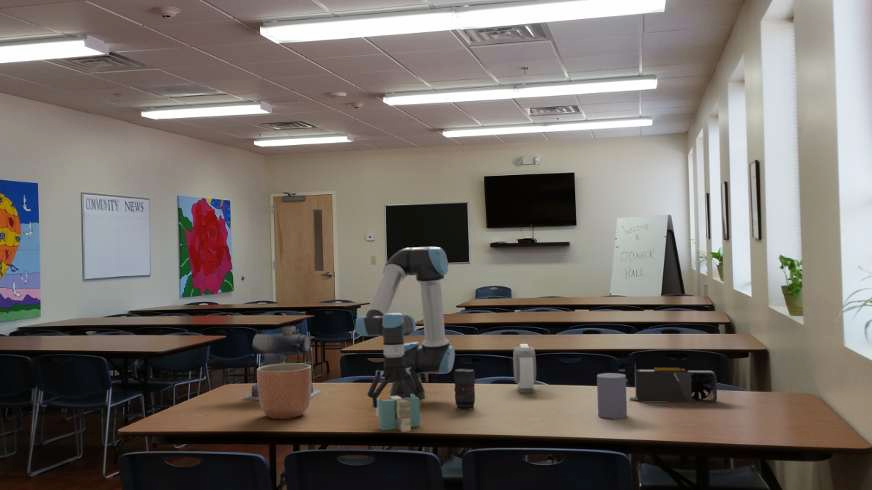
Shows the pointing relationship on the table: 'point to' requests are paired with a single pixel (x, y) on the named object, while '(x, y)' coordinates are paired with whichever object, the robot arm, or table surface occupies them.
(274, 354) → the grinder
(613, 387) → the container
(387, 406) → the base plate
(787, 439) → the table surface
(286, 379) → the planter
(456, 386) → the camera lens
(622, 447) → the table surface
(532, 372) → the alarm clock
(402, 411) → the upper plate
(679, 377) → the graphics card
